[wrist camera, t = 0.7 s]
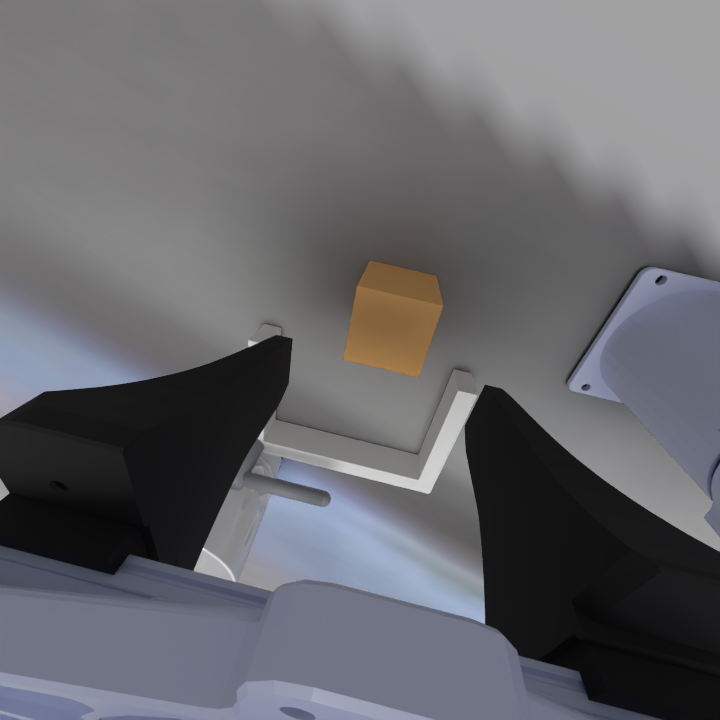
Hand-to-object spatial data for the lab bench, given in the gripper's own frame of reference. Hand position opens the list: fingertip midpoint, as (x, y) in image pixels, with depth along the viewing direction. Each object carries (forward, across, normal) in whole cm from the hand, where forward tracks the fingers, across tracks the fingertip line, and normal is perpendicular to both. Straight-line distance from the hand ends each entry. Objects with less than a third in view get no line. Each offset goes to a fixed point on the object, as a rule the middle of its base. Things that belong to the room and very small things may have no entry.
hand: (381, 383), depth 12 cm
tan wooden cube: (+9, 0, 0) cm, 9 cm away
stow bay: (+9, +1, +8) cm, 12 cm away
